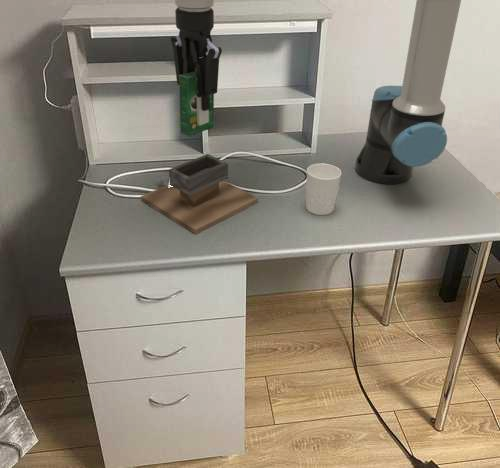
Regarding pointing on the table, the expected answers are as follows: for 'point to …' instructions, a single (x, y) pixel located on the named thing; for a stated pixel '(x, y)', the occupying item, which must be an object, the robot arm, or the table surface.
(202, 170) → the display stand
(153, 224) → the table surface
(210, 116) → the coffee box
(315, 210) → the white cup
